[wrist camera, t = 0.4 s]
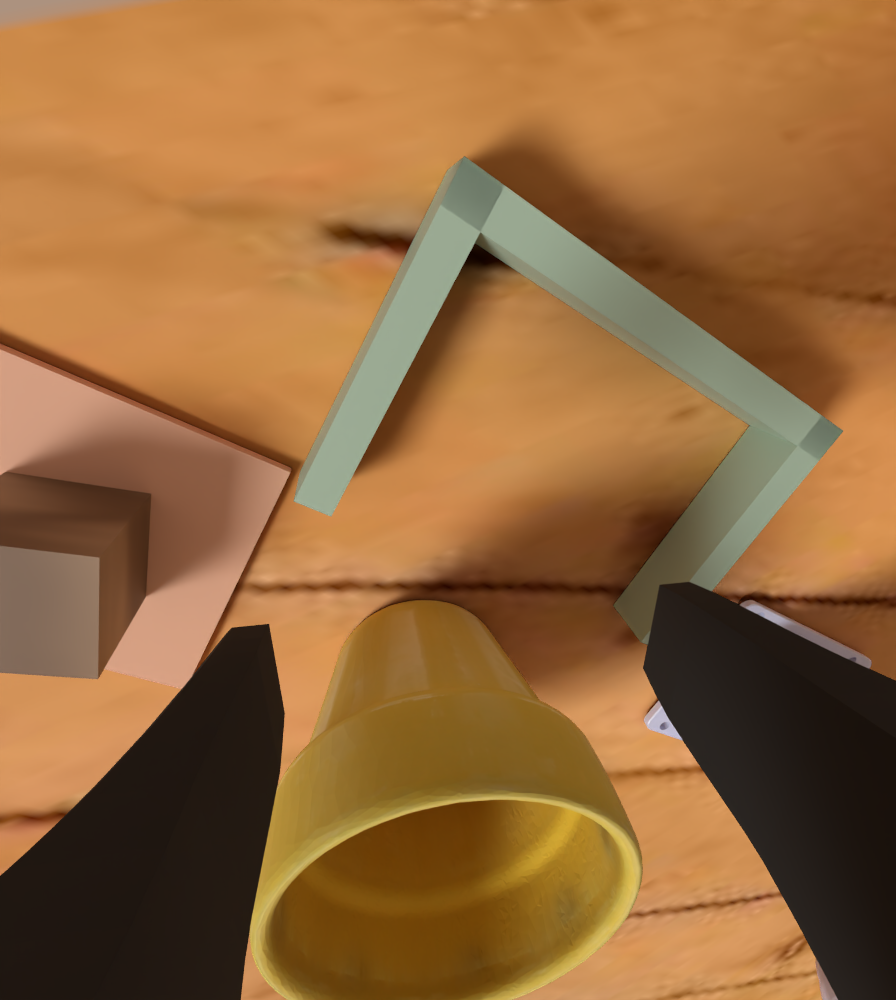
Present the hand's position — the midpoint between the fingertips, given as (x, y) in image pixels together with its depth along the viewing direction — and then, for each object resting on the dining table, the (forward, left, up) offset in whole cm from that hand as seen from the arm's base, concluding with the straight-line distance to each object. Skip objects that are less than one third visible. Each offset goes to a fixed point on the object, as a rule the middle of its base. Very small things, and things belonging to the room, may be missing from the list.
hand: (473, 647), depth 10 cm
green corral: (-4, -3, -10) cm, 11 cm away
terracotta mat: (+9, +7, -10) cm, 15 cm away
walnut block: (+9, +7, -9) cm, 15 cm away
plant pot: (-4, +8, -10) cm, 14 cm away
